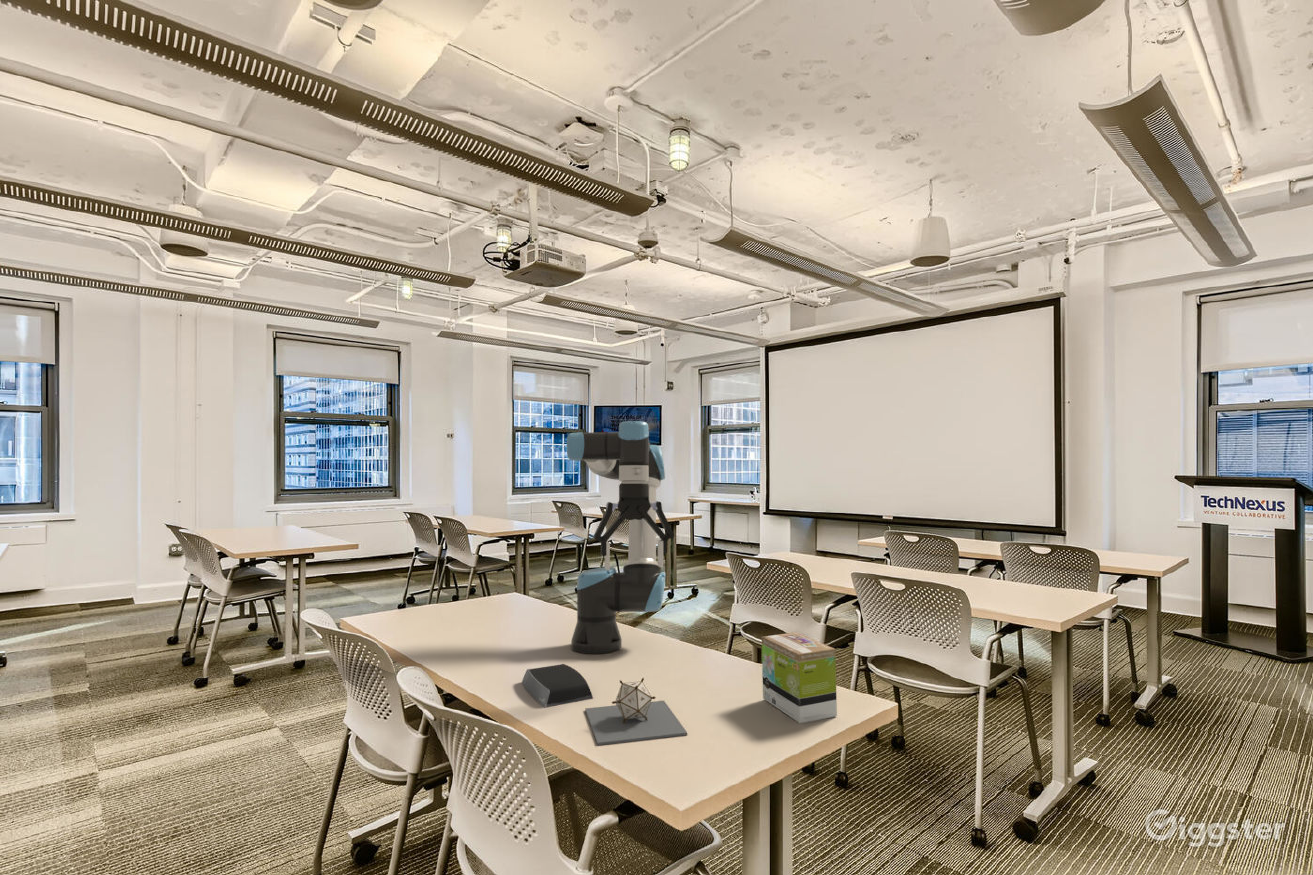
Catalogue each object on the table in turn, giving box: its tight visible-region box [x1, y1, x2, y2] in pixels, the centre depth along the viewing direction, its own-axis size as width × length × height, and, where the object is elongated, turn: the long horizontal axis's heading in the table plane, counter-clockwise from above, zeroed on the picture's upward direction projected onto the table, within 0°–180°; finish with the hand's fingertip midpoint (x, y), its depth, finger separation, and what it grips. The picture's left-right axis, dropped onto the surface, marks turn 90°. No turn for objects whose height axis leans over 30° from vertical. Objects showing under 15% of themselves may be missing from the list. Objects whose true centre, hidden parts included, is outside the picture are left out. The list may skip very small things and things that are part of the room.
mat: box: [584, 700, 688, 746], centre depth 129 cm, size 18×18×1 cm
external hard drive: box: [521, 663, 594, 708], centre depth 149 cm, size 13×19×4 cm
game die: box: [611, 677, 657, 723], centre depth 130 cm, size 9×8×10 cm
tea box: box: [761, 631, 838, 724], centre depth 137 cm, size 15×10×15 cm
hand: (634, 568), depth 153 cm, fingers open, 13 cm apart
